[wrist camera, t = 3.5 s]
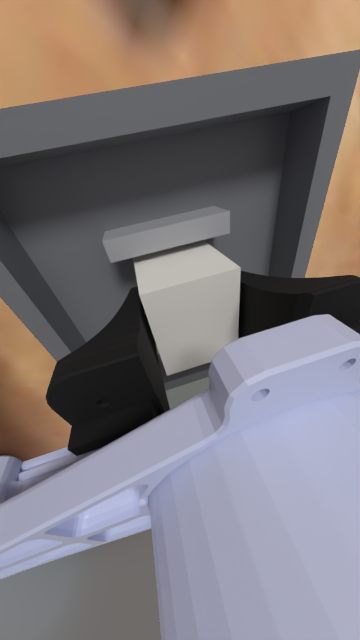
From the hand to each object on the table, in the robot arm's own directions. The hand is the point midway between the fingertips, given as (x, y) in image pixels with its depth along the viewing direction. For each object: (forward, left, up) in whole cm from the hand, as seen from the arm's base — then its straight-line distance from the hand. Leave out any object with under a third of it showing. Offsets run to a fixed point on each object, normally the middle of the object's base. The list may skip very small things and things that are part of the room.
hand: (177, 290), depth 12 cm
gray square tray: (0, 0, -2) cm, 2 cm away
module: (0, 0, -1) cm, 1 cm away
